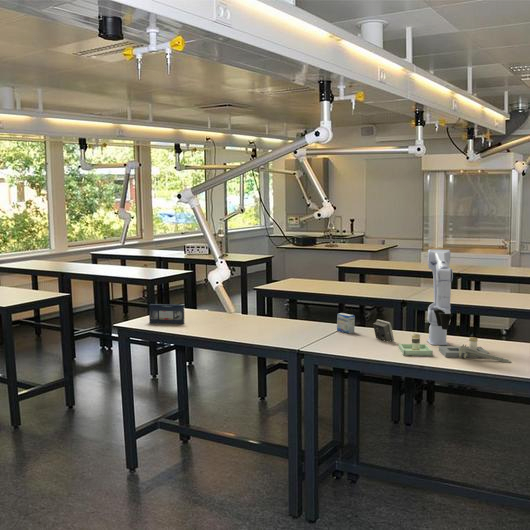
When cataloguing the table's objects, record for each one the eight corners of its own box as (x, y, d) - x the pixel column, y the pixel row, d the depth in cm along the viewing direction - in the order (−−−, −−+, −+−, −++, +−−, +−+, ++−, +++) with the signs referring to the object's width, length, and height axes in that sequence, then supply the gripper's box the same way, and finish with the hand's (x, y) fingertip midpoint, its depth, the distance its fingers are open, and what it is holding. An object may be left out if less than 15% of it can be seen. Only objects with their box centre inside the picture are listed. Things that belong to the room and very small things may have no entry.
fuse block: (438, 350, 263) (438, 346, 263) (480, 351, 262) (480, 346, 262) (445, 357, 252) (445, 352, 252) (489, 357, 251) (489, 353, 251)
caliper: (458, 358, 251) (459, 344, 250) (458, 358, 252) (459, 343, 251) (511, 363, 244) (512, 348, 243) (511, 362, 245) (512, 347, 245)
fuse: (467, 353, 259) (468, 337, 258) (475, 353, 259) (476, 337, 258) (470, 355, 255) (470, 339, 255) (478, 355, 255) (478, 339, 254)
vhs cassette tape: (149, 323, 316) (148, 304, 315) (150, 322, 319) (150, 303, 318) (183, 324, 314) (183, 305, 313) (184, 323, 317) (184, 304, 316)
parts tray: (398, 348, 266) (398, 343, 266) (425, 349, 266) (426, 344, 265) (403, 355, 254) (403, 350, 254) (432, 356, 254) (432, 351, 253)
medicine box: (336, 330, 301) (336, 313, 300) (342, 329, 304) (342, 312, 303) (348, 333, 295) (349, 316, 294) (354, 332, 298) (355, 314, 297)
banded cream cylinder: (411, 349, 262) (411, 333, 261) (419, 349, 261) (419, 333, 261) (412, 351, 258) (412, 335, 258) (420, 351, 258) (420, 335, 257)
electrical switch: (394, 341, 279) (393, 322, 278) (385, 343, 277) (384, 324, 276) (381, 337, 288) (380, 318, 286) (372, 339, 285) (371, 320, 284)
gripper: (430, 294, 267) (429, 324, 268) (438, 298, 252) (437, 330, 254) (446, 294, 267) (445, 324, 268) (455, 299, 252) (454, 331, 253)
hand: (442, 327), depth 261 cm, fingers open, 7 cm apart
